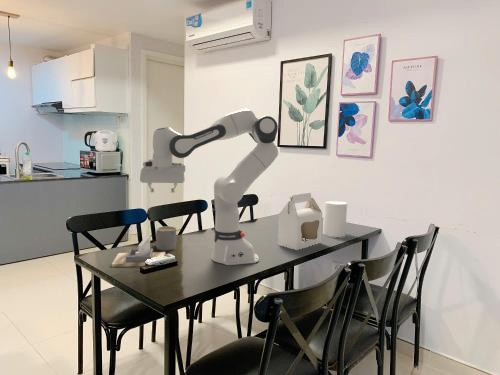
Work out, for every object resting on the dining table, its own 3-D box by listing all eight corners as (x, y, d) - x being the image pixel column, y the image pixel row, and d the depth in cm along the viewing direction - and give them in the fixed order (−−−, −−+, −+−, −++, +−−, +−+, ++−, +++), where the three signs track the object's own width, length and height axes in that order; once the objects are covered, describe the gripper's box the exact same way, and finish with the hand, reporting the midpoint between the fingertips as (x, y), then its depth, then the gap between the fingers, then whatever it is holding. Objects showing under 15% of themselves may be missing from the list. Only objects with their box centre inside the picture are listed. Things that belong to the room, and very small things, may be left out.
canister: (348, 234, 231) (351, 202, 229) (338, 238, 221) (340, 205, 218) (329, 230, 240) (331, 199, 237) (318, 234, 230) (320, 202, 227)
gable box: (302, 238, 220) (304, 191, 216) (321, 243, 211) (323, 193, 207) (277, 245, 205) (279, 194, 201) (296, 250, 195) (298, 197, 192)
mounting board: (165, 254, 183) (165, 251, 183) (163, 265, 168) (163, 262, 168) (118, 255, 180) (118, 252, 180) (111, 266, 164) (111, 264, 164)
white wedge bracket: (156, 249, 179) (150, 235, 174) (143, 264, 172) (136, 251, 167) (150, 248, 180) (143, 234, 175) (137, 263, 173) (130, 250, 168)
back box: (153, 253, 180) (153, 248, 180) (150, 261, 169) (150, 256, 168) (130, 254, 178) (130, 249, 178) (126, 262, 167) (125, 256, 167)
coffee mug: (179, 248, 194) (179, 229, 192) (161, 251, 188) (161, 232, 186) (168, 242, 204) (168, 224, 203) (150, 245, 198) (150, 226, 197)
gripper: (185, 162, 179) (185, 191, 181) (141, 161, 176) (141, 191, 178) (185, 163, 173) (185, 193, 175) (139, 162, 170) (139, 193, 171)
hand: (162, 192), depth 176 cm, fingers open, 8 cm apart
